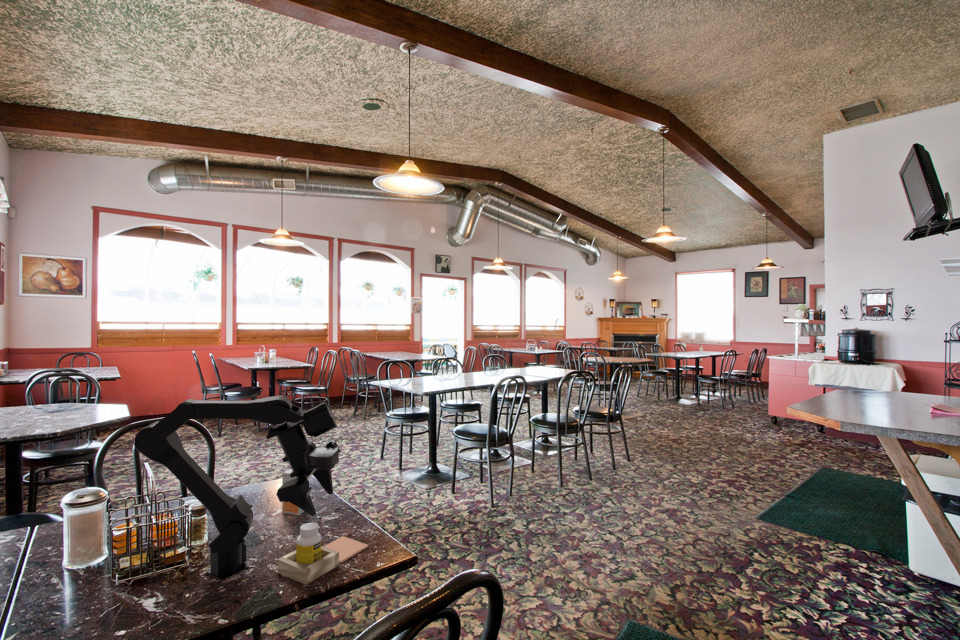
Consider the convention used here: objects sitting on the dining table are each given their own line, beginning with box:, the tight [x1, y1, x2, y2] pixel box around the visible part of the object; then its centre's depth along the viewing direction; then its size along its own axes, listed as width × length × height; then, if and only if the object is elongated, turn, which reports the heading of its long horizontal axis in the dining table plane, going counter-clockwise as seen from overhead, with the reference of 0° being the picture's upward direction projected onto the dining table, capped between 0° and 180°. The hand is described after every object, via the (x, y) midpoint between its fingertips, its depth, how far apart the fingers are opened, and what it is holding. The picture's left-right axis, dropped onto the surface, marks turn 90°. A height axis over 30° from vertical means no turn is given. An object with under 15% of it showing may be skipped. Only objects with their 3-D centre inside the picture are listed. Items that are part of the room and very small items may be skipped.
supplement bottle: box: [295, 522, 322, 567], centre depth 107 cm, size 5×5×10 cm
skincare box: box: [281, 468, 305, 516], centre depth 139 cm, size 6×4×12 cm
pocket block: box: [277, 545, 340, 585], centre depth 107 cm, size 9×9×3 cm
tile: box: [324, 535, 369, 564], centre depth 116 cm, size 9×9×1 cm
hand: (323, 504), depth 113 cm, fingers open, 9 cm apart
